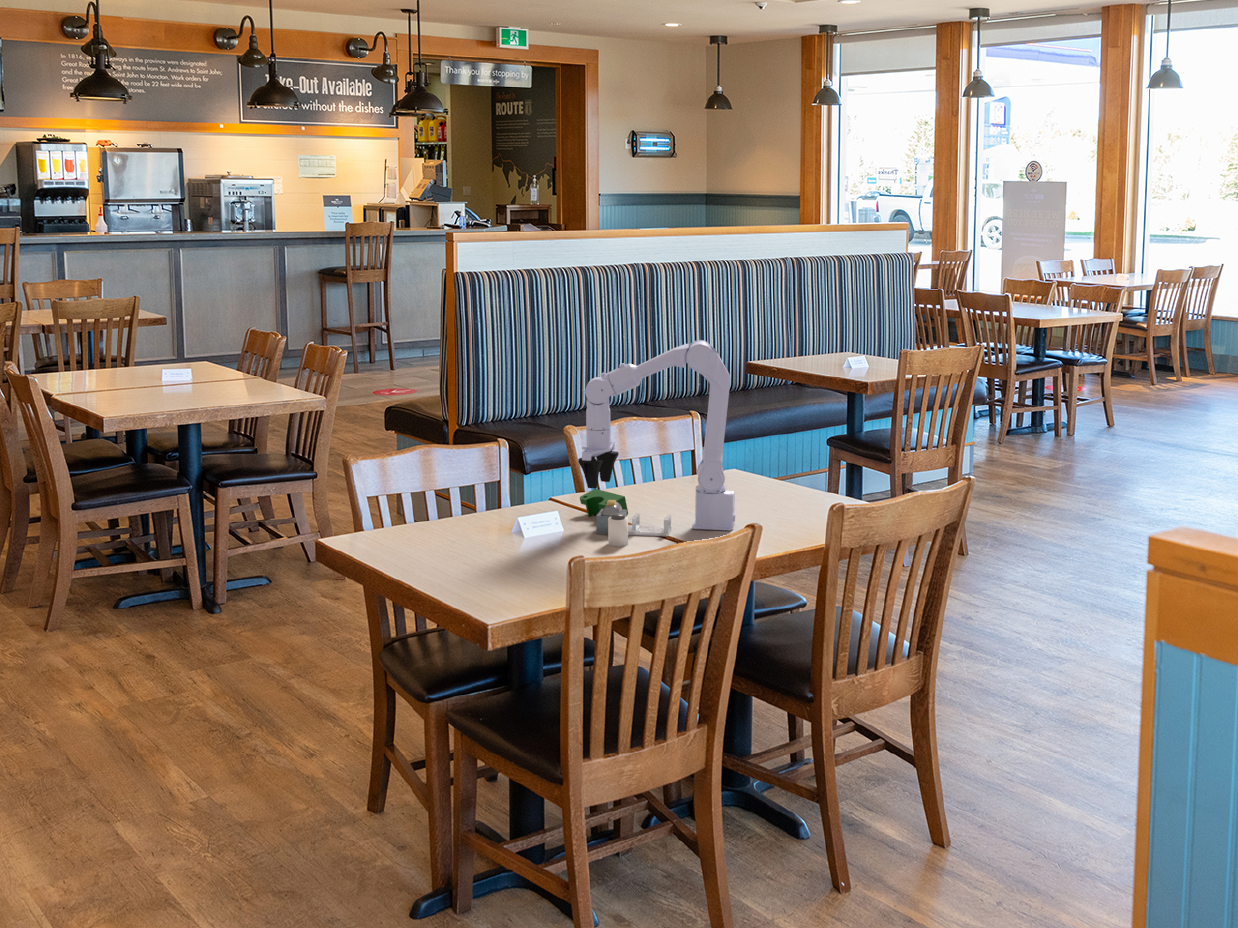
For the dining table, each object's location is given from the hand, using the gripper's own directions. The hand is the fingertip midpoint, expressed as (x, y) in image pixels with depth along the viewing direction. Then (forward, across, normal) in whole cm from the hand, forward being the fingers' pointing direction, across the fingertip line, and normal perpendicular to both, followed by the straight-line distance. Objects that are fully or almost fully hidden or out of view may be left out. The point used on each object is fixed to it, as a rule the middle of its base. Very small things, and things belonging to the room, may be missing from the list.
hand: (598, 484), depth 292 cm
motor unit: (+10, +2, +10) cm, 14 cm away
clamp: (+10, -8, -2) cm, 13 cm away
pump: (+10, +14, +11) cm, 20 cm away
